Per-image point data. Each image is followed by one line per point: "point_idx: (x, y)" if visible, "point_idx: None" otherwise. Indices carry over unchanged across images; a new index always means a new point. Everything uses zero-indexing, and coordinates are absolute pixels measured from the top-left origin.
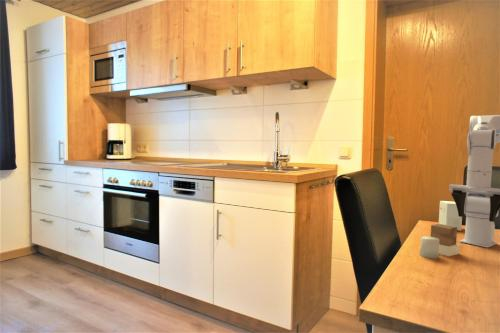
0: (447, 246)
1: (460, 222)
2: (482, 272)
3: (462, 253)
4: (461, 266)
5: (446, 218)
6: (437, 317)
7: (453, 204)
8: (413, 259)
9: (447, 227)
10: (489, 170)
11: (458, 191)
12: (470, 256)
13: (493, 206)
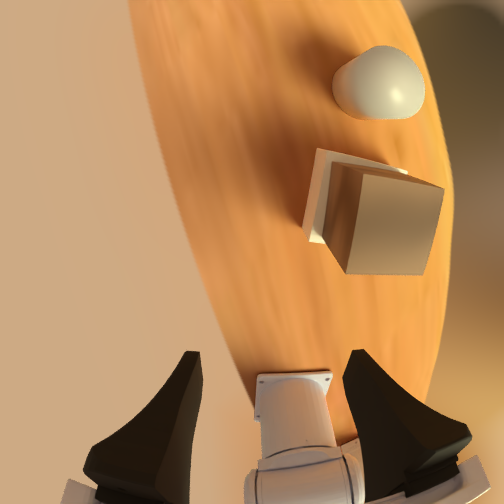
0: (333, 154)
1: None
2: (172, 53)
3: (294, 243)
4: (239, 54)
5: None
6: None
7: None
8: (369, 12)
9: (380, 204)
10: None
11: (428, 481)
12: (262, 226)
13: (153, 419)
